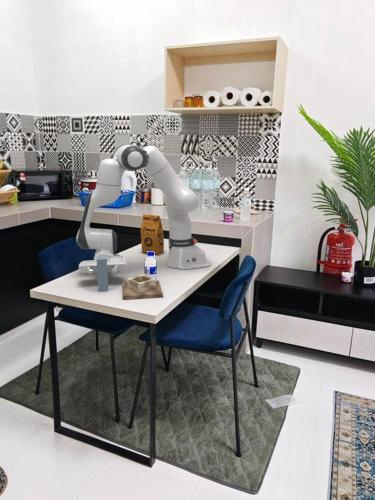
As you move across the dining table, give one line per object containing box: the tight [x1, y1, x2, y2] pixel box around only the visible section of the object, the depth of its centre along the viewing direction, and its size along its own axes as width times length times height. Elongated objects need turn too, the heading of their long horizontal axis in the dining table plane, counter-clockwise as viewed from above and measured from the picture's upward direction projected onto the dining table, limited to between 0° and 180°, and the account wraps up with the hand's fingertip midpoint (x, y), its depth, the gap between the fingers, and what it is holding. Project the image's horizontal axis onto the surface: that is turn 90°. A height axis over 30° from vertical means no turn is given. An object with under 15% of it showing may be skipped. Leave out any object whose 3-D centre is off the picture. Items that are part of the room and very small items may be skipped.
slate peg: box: [96, 257, 109, 292], centre depth 165 cm, size 4×4×14 cm
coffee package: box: [140, 213, 165, 256], centre depth 220 cm, size 10×12×22 cm
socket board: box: [121, 274, 164, 301], centre depth 164 cm, size 16×16×6 cm
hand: (102, 271), depth 165 cm, fingers open, 8 cm apart
